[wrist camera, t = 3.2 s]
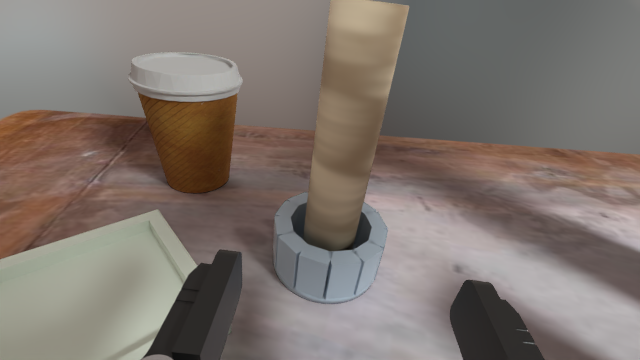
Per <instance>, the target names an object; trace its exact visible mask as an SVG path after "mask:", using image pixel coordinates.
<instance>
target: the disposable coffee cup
mask: <svg viewBox="0 0 640 360" xmlns="http://www.w3.org/2000/svg"><path fill="white" fill-rule="evenodd" d="M128 80H129V81H130V83H131V84H132V85H133V87H134V89H135V90H136V91H137V92H138V94H139V98H140V101H141V103H142V107H143V110H144V113H145V116H146V119H147V122H148V124H149V128H150V130H151V134H152V136H153V140H154V143H155V146H156V149H157V152H158V155H159V158H160V161H161V163H162V167H163V169H164V173H165V176H166V179H167V182H168V184H169V185H170V186H171V187H172V188H174V189H175V190H178V191H181V192H186V193H202V192H208V191H212V190H214V189H217V188H219V187H221V186H223V185H224V184H225V183H226V182H227V181H228V178H229V171H230V161H231V151H232V142H233V132H234V122H235V113H236V102H237V93H238V91H239V90H240V86H241V84H242V78H241V76H240V75H239V72H238V68H237V65H236V64H235V63H234V62H233V61H231V60H228V59H226V58H222V57H218V56H213V55H206V54H198V53H183V52H167V53H153V54H146V55H141V56H138V57H135V58H134V59H133V60H132V63H131V73H130V74H129V75H128Z"/></svg>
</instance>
